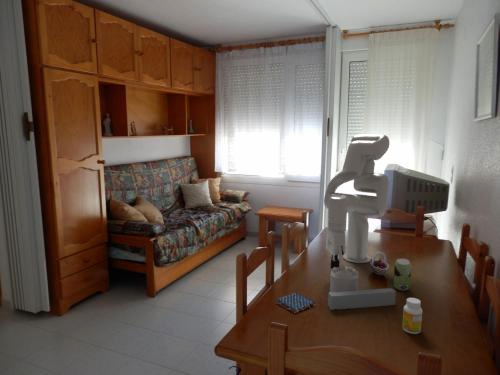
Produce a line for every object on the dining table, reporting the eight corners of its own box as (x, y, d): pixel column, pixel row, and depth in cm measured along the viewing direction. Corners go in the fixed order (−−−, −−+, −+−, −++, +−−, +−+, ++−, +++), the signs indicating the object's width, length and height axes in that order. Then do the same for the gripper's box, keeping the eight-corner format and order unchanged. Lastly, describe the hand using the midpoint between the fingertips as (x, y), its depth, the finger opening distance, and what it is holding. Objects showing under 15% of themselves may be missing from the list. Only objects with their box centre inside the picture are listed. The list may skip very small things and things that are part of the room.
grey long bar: (327, 305, 130) (328, 292, 129) (390, 301, 134) (391, 288, 133) (331, 309, 127) (331, 296, 126) (394, 304, 131) (395, 291, 130)
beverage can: (409, 286, 147) (411, 257, 145) (410, 294, 140) (413, 264, 138) (392, 284, 149) (394, 255, 147) (393, 291, 142) (395, 261, 140)
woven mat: (274, 304, 132) (274, 298, 132) (295, 296, 138) (296, 291, 138) (294, 315, 124) (294, 310, 123) (316, 307, 130) (316, 301, 130)
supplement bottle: (398, 325, 117) (400, 296, 115) (415, 324, 117) (417, 296, 116) (407, 334, 112) (409, 304, 110) (424, 334, 112) (426, 304, 111)
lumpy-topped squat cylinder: (328, 294, 139) (328, 272, 138) (333, 281, 151) (334, 261, 150) (356, 299, 135) (357, 276, 134) (359, 285, 147) (360, 264, 146)
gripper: (321, 222, 157) (319, 263, 160) (335, 231, 143) (333, 276, 145) (338, 221, 159) (336, 262, 161) (353, 230, 144) (351, 275, 147)
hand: (334, 268), depth 153 cm, fingers closed
